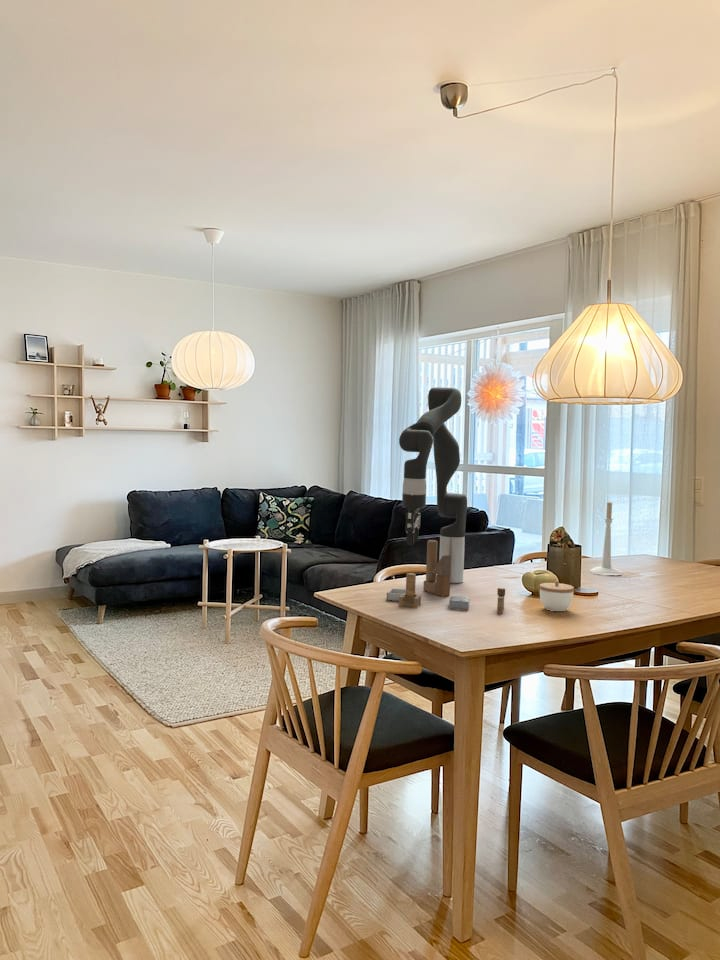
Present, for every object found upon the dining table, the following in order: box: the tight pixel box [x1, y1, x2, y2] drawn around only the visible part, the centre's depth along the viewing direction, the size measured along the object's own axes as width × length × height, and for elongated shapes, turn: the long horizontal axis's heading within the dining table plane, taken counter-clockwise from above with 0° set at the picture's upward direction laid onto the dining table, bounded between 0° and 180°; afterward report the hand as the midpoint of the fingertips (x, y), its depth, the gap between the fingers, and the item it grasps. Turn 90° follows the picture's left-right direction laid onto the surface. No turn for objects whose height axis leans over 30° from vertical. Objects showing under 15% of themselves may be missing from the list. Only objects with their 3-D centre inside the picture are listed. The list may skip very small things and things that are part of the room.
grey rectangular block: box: [448, 595, 471, 611], centre depth 239 cm, size 7×6×3 cm
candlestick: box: [589, 501, 622, 573], centre depth 309 cm, size 13×13×30 cm
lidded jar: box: [539, 580, 575, 612], centre depth 240 cm, size 11×11×9 cm
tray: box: [385, 588, 406, 602], centre depth 249 cm, size 8×7×2 cm
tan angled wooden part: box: [422, 539, 451, 597], centre depth 259 cm, size 4×11×18 cm, turn 31°
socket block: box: [398, 593, 422, 608], centre depth 240 cm, size 6×6×3 cm
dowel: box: [405, 572, 417, 597], centre depth 240 cm, size 3×3×10 cm
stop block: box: [496, 587, 506, 615], centre depth 236 cm, size 9×2×7 cm, turn 166°
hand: (412, 543), depth 239 cm, fingers open, 8 cm apart
